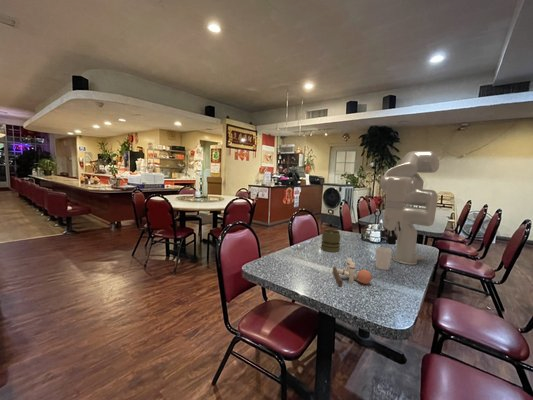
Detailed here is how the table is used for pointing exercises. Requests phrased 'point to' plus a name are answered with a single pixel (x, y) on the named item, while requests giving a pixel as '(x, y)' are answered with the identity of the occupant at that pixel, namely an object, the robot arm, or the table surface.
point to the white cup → (383, 258)
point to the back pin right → (348, 264)
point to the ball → (364, 276)
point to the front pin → (346, 273)
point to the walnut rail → (337, 277)
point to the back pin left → (351, 272)
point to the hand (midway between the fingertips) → (391, 243)
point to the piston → (331, 241)
